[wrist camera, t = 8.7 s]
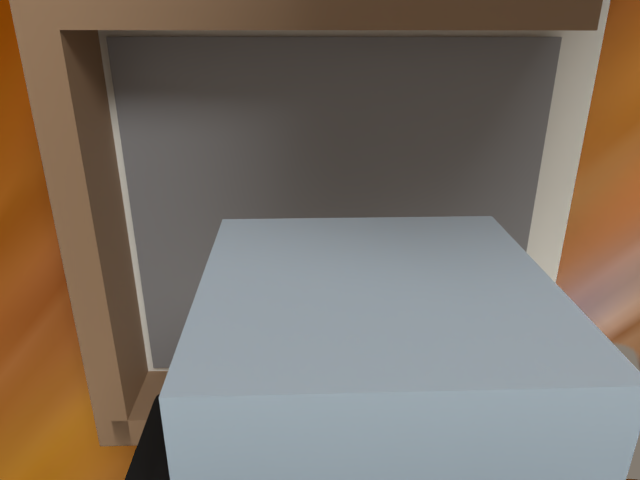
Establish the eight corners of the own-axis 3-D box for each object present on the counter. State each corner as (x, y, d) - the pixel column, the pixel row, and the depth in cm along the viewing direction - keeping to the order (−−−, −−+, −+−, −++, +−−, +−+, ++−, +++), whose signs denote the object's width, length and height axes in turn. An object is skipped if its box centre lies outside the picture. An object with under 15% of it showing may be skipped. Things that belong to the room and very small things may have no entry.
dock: (87, -12, 20) (5, -19, 14) (570, -10, 20) (670, -17, 15) (142, 353, 26) (100, 446, 21) (511, 347, 27) (565, 435, 21)
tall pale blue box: (228, 201, 11) (158, 397, 5) (475, 199, 11) (654, 386, 6) (248, 496, 14) (216, 812, 8) (440, 490, 14) (532, 796, 9)
